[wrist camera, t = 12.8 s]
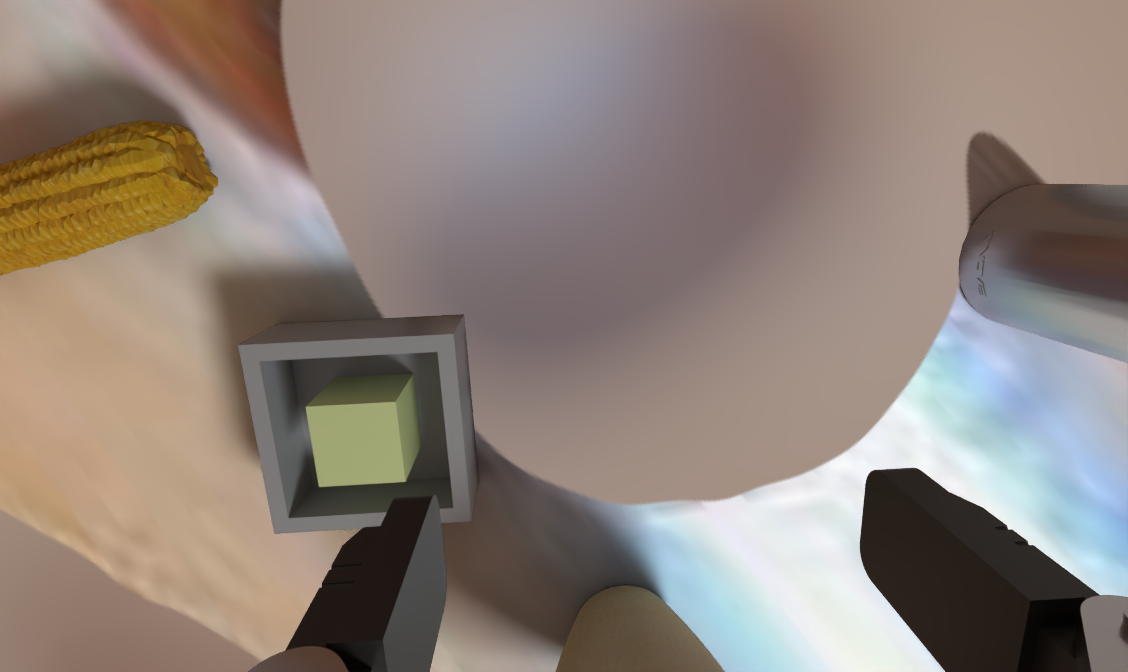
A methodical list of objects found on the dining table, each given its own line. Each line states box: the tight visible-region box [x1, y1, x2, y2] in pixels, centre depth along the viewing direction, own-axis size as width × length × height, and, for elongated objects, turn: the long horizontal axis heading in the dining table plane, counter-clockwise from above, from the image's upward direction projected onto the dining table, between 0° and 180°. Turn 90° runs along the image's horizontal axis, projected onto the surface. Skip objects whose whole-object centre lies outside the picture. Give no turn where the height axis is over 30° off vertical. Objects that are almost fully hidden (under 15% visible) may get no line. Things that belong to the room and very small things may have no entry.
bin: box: [238, 315, 479, 534], centre depth 37 cm, size 12×12×5 cm
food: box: [0, 121, 218, 276], centre depth 33 cm, size 21×6×6 cm, turn 108°
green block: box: [306, 373, 422, 487], centre depth 36 cm, size 5×5×5 cm
